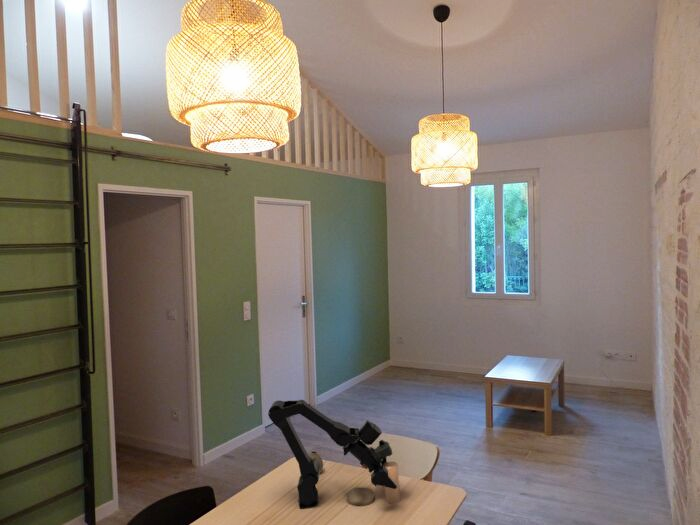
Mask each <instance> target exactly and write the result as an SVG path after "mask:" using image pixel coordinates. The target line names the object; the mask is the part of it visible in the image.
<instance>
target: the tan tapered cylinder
mask: <svg viewBox="0 0 700 525" xmlns="http://www.w3.org/2000/svg"><path fill="white" fill-rule="evenodd" d="M383 466H384V467H385V468H386V469H387V470H388V476H389V477H390V478H391V480H392V481H393V482H394V483H395V484H396V486H397V488H396V489H393V488H389V487H385V486H384V499H385V502H386V503H388V504H397V503H399V502H400V500H401V498H400V480H399V465H398V462H396V461H387V462H386V463H384V464H383Z"/></svg>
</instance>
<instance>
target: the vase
mask: <svg viewBox="0 0 700 525" xmlns="http://www.w3.org/2000/svg"><path fill="white" fill-rule="evenodd" d="M308 456H309V457H310V458H312V459H313V458H314V457H316V460H317V463H318V464H319V465H320V474H321V473H322V471H323V468H324V462H323V458H322V457H321V455H320V454H319V453H318V452H317V450H313V451H312V450H311V452H310V454H309V455H308Z"/></svg>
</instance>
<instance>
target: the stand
mask: <svg viewBox="0 0 700 525" xmlns="http://www.w3.org/2000/svg"><path fill="white" fill-rule="evenodd" d="M374 501H375V492H374V491H373V490H372V489H371V488H368V487H364V486H363V487H360V486H359V487H355V488H352V489H349V490H348V491H347V492H346V503H347V504H349V505H350V506H353V507H365V506H368V505H371V504H372V503H373V502H374Z"/></svg>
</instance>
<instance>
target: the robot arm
mask: <svg viewBox="0 0 700 525" xmlns="http://www.w3.org/2000/svg"><path fill="white" fill-rule="evenodd" d="M267 415H268V418H269V420H270V421H271V422H272V423H273V424H274V426H276V427H277V428H278V429H279V430H280V431H281V433H282V434H283V437H284V439H285V441H286V443H287V444H288V447H289V448H290V450H291V453H292V454H293V455H294V458H295V460H296V462H297V463H298V467H299V474H300V476H299V479H298V483H297V487H296V489H297V495H298V496H297V497H298V499H297V503H298V506H299V509H300V510H301V509H308V508H314V507H318V505H319V504H318V502H319V494H318V492H319V491H318V488H317V487H316V486H317V484H318V482H319V479H320V474H321V473H320V465H319V464H318V463H317V460H316V457H314V458H313V459H312V458H310V457H309V456H310V455H309V454H308V453H307V451H306V448H305V447H304V444H303V443H302V440H301V439H300V437H299V436H298V433H297V432H296V429H295V427H294V426H293V424H292V422H291V421H292V420H291V417H293V416H296V415H300V416H302V417H304V418H305V419H307V420H308V421H310V422H311V423H313V424H314V425H316V426H317V427H318V428H320V429H321V430H323V431H324V432H326V434H328V436H329V437H330V439H331V440H332V441H333V442H334V443H335V444H336V445H337V446H340V447H342V450H343V456H345V457H346V455H347V454H349V453H350V454H351V455H352V456H353V457H354V458H356V459H357V460H358V461H359V464H360V465H361V466H364V467H366V469H368V472H369V473H370V484H372V485H373V486H374V487H376V486H380V487H384V488H385V487H389V488H393V489H396V488H397V486H396V484H395V483H394V482H393V481H392V480H391V478H390V477H389V476H388V470H387V469H386V468H385V467H384V466H383V464H384V463H386V462H388V461H387V457H390V456H392V455H393V449H392V447H391V446H390V443H389V441H385V440H383V439H381V440H379V441H378V445H377V447H375V448H374V447H373V446H370V445H373V443H375V441H376V440H377V439H378V438H379V437H380V436H381V435H382V434H383V432H382V430H381V428H380V427H379V426H378V425H377V424H375V423H373V422H371V421H370V420H366V421H365V422H364V424H363V425H362V426H361V428H358V427H349V426H348V425H346V424H345V423H343V422H339V421H334V420H333V419H331V418H330V417H328V416H327V415H325V414H323V413H322V412H320V411H319V410H318V409H316V408H315V407H313V406H312V405H311V404H309V403H307V402H306V400H304V399H298V400H286V401H283V400H275V401H273V403H271V406H270V408H269V409H268V413H267ZM369 446H370V447H369Z"/></svg>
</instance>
